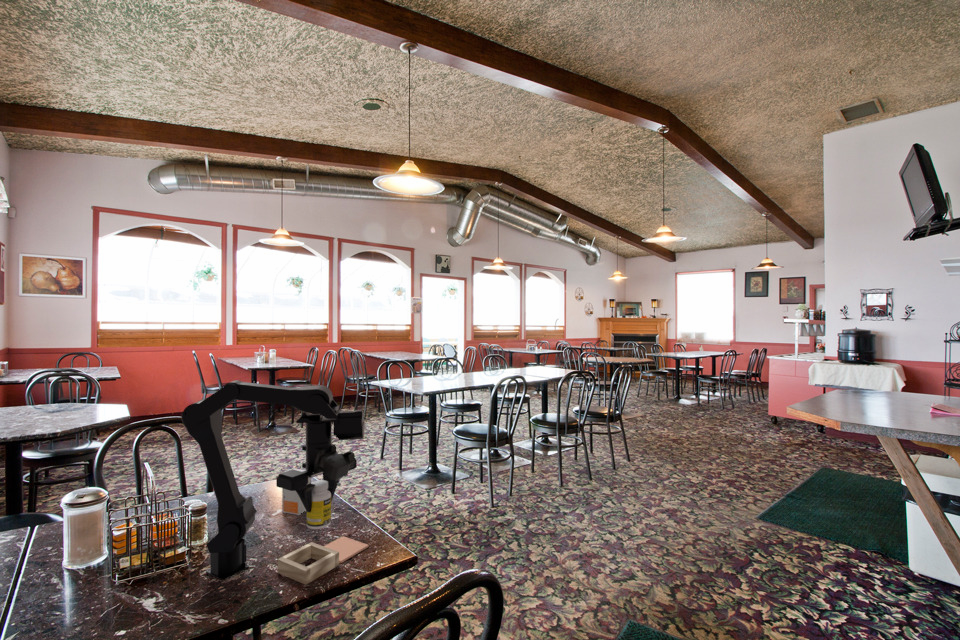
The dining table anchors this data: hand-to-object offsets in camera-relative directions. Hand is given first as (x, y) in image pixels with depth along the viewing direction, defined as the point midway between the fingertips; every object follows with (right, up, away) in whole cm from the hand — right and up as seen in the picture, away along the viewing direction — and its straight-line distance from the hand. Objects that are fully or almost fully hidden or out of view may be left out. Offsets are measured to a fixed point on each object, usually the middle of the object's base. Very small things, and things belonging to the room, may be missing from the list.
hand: (319, 507), depth 110 cm
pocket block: (-2, -13, -2) cm, 13 cm away
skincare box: (-17, -13, +29) cm, 36 cm away
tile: (+3, -13, +6) cm, 15 cm away
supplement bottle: (0, -4, 0) cm, 4 cm away
